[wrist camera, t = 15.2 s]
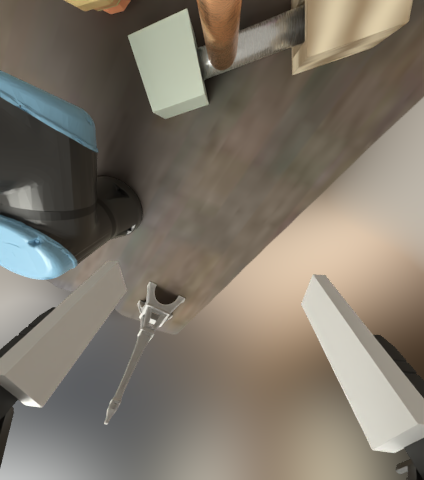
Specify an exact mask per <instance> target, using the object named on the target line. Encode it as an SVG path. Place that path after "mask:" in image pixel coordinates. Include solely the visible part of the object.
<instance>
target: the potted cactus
mask: <svg viewBox="0 0 424 480" xmlns="http://www.w3.org/2000/svg"><path fill="white" fill-rule="evenodd" d="M64 1H66V2H68V3H70V4H72V5H74V6H75V7H77V8H79V9H81V10H83V11H88V10H92V9H94V10H97V11H100V10H104V11H105V12H107V13H109V14H115V13H118V12H122V11H124V10H125V9H126V7H127V6H128V4H129V2H130V1H131V0H64Z"/></svg>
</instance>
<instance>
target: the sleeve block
mask: <svg viewBox="0 0 424 480" xmlns="http://www.w3.org/2000/svg"><path fill="white" fill-rule="evenodd" d="M412 2H413V0H291V10H292V9H294V8H296V7H299V6H301V5H304V4H305V42H304V43H302V44H300V45H297V46H294V47H292V75H295V74H298V73H301V72H303V71H306V70H309V69H312V68H315V67H318V66H321V65H324V64H327V63H330V62H333V61H336V60H339V59H342V58H345V57H348V56H351V55H353V54H356V53H359V52H362V51H365V50H368V49H371V48H373V47H374V46H376V45H377V44H378V43H380V42H381V41H383V40H384V39H385V38H387V37H388V36H390V35H391V34H392V33H394V32H395V31H397V30H398V29H399V28H401V27H402V26H403V25H405V24H406V23H408V22H409V17H410V12H411V7H412Z"/></svg>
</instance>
